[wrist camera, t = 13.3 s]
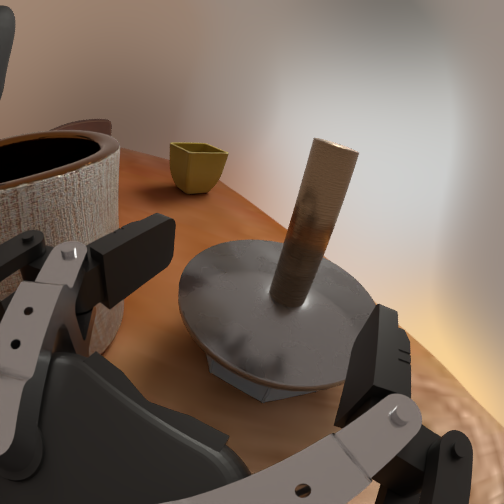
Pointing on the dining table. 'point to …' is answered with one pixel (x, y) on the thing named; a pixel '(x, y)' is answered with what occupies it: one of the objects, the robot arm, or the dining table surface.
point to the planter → (62, 200)
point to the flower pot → (196, 166)
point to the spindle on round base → (282, 291)
